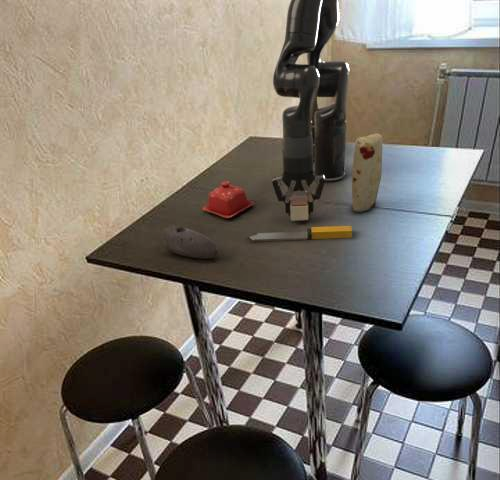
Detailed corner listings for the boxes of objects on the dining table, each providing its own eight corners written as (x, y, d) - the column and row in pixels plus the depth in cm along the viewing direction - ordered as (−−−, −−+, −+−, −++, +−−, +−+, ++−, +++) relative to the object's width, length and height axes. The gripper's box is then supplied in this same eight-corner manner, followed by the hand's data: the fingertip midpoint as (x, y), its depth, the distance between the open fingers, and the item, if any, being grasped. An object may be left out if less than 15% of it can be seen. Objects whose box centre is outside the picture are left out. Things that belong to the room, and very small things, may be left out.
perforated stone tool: (224, 256, 120) (221, 231, 116) (212, 267, 117) (208, 242, 113) (176, 244, 127) (171, 220, 123) (163, 254, 124) (158, 230, 119)
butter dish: (200, 212, 141) (196, 184, 136) (228, 197, 148) (225, 170, 143) (228, 222, 134) (225, 194, 129) (256, 207, 141) (254, 179, 136)
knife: (249, 242, 125) (248, 235, 124) (250, 235, 128) (249, 228, 127) (352, 238, 122) (352, 231, 121) (350, 232, 125) (351, 225, 124)
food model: (365, 217, 131) (369, 143, 119) (344, 211, 134) (346, 138, 123) (384, 203, 136) (390, 131, 124) (363, 198, 140) (367, 127, 128)
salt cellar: (290, 220, 129) (290, 205, 127) (290, 211, 134) (290, 195, 131) (308, 220, 129) (308, 204, 126) (307, 210, 133) (307, 195, 131)
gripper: (326, 144, 123) (325, 206, 133) (269, 147, 125) (273, 208, 135) (327, 155, 117) (327, 219, 127) (268, 158, 119) (272, 221, 129)
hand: (299, 213), depth 131 cm, fingers closed on salt cellar, 4 cm apart
